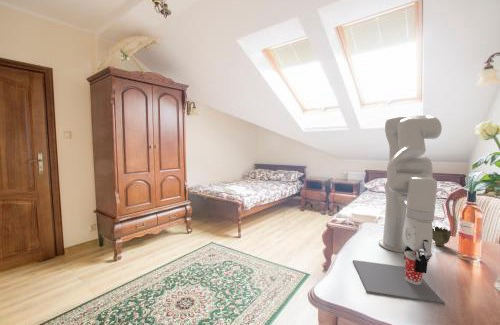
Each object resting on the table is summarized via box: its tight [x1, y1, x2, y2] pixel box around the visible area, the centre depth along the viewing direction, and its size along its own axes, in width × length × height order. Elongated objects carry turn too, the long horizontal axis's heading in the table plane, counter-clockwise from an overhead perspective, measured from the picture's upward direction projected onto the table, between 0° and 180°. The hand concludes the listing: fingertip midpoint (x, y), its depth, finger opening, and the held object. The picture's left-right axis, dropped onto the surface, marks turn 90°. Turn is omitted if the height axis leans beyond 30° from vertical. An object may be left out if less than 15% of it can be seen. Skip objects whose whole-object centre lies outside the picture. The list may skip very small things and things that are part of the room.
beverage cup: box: [404, 251, 424, 285], centre depth 78 cm, size 6×6×14 cm
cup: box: [432, 226, 452, 248], centre depth 110 cm, size 8×7×8 cm
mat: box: [352, 259, 445, 306], centre depth 80 cm, size 20×21×1 cm
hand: (414, 265), depth 78 cm, fingers open, 7 cm apart
